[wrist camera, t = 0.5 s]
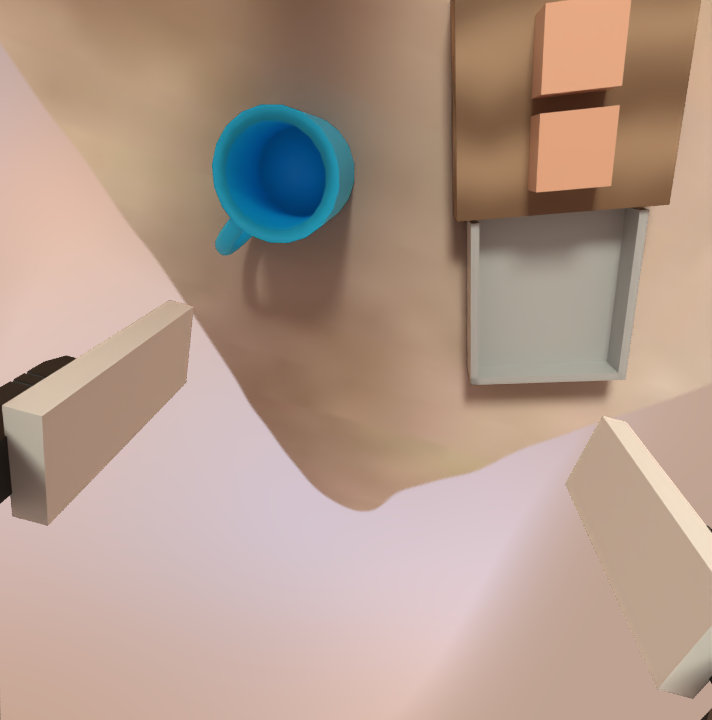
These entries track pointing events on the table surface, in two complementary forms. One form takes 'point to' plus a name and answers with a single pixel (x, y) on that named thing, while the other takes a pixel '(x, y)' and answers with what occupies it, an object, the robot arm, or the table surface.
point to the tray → (553, 295)
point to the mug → (279, 175)
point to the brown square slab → (563, 109)
